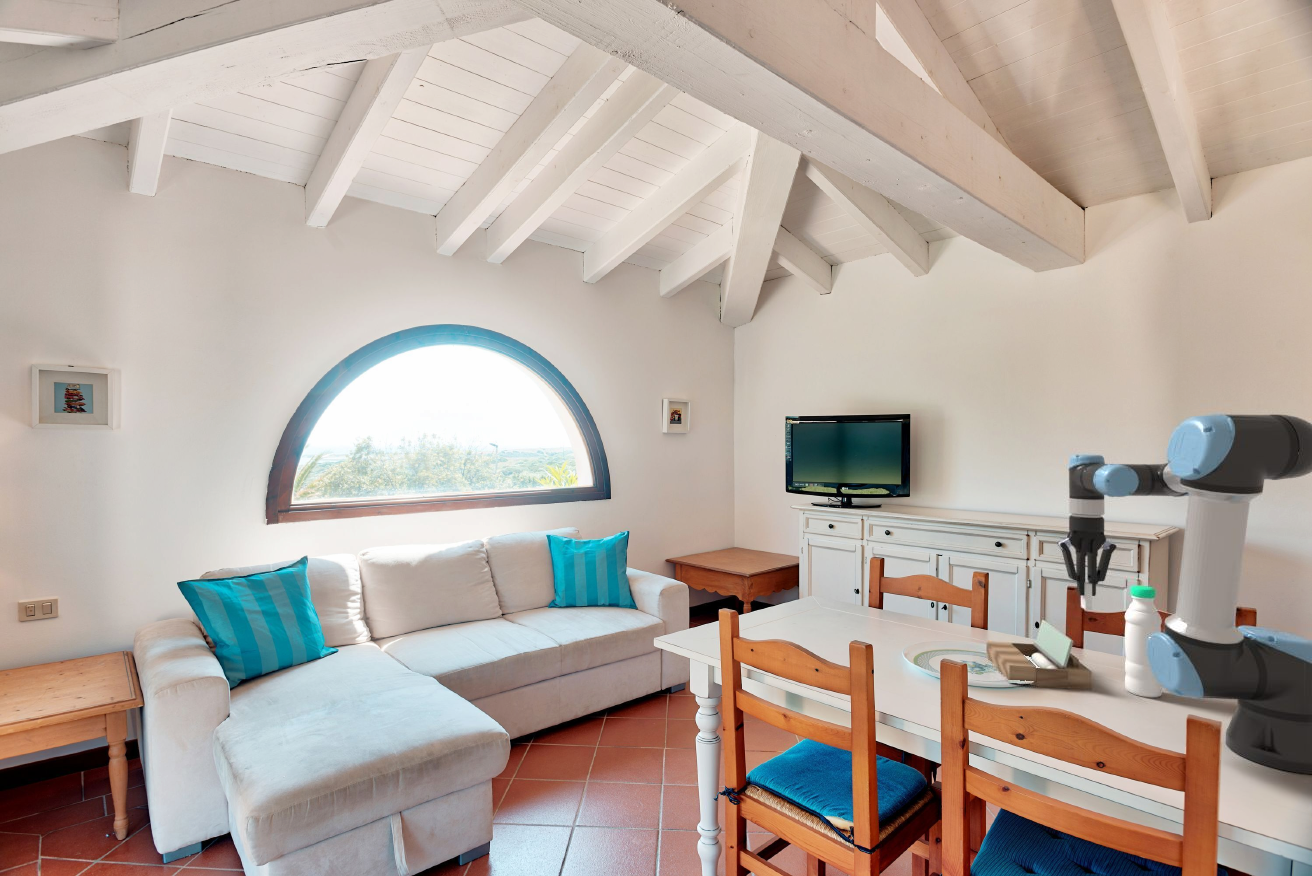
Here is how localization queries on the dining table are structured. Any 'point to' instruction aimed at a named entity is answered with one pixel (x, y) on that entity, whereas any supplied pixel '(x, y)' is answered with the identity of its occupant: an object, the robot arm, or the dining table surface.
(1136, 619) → the water bottle
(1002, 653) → the wooden tray
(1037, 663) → the white rounded cylinder
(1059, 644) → the cover
